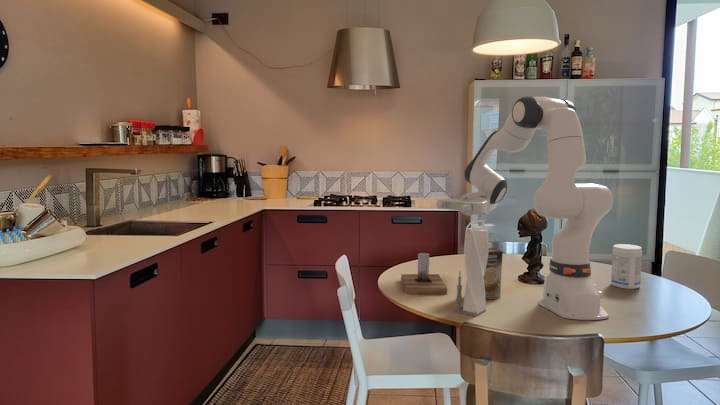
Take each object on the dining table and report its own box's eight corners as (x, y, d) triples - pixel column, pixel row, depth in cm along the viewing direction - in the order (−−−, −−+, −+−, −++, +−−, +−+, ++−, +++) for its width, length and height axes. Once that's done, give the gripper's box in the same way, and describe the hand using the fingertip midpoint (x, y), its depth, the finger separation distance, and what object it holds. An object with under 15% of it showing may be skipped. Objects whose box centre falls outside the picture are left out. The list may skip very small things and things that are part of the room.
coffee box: (477, 300, 172) (478, 252, 170) (467, 295, 178) (468, 249, 176) (501, 298, 174) (502, 251, 173) (490, 293, 180) (492, 247, 179)
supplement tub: (631, 282, 195) (633, 243, 194) (645, 289, 186) (648, 248, 184) (605, 282, 195) (607, 243, 193) (618, 289, 186) (621, 248, 184)
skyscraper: (467, 305, 167) (470, 218, 164) (491, 310, 162) (494, 221, 158) (454, 311, 160) (457, 221, 157) (478, 317, 155) (481, 224, 152)
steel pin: (429, 288, 186) (430, 255, 184) (418, 288, 186) (418, 255, 184) (427, 285, 190) (428, 253, 188) (416, 285, 190) (417, 253, 188)
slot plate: (446, 294, 179) (447, 287, 179) (406, 294, 179) (406, 287, 178) (438, 280, 197) (438, 274, 196) (401, 280, 197) (401, 274, 196)
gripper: (448, 194, 213) (428, 196, 203) (493, 197, 199) (474, 200, 189) (448, 209, 213) (427, 212, 203) (493, 214, 199) (473, 217, 189)
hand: (450, 206), depth 196 cm, fingers open, 8 cm apart
